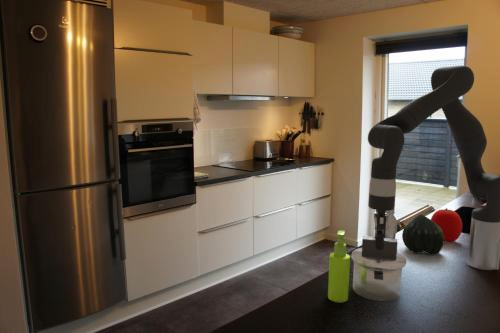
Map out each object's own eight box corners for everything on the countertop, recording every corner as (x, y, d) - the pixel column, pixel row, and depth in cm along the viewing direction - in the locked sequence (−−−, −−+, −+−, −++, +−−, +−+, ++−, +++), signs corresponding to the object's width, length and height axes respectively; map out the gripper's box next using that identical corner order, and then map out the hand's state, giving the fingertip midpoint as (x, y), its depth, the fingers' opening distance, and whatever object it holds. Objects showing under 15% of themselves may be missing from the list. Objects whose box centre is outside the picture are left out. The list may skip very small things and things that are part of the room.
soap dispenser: (349, 293, 125) (352, 229, 122) (346, 303, 119) (350, 236, 116) (329, 290, 127) (332, 227, 124) (326, 300, 121) (329, 234, 118)
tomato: (424, 240, 175) (427, 207, 173) (432, 234, 184) (435, 203, 182) (456, 247, 167) (459, 213, 165) (463, 240, 176) (467, 208, 174)
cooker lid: (403, 253, 132) (405, 233, 131) (408, 272, 117) (410, 250, 116) (352, 247, 136) (353, 228, 135) (350, 266, 121) (351, 244, 120)
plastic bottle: (396, 265, 148) (400, 210, 145) (377, 263, 149) (380, 209, 146) (394, 258, 154) (397, 206, 151) (375, 257, 155) (378, 205, 152)
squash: (439, 249, 149) (444, 212, 156) (396, 243, 157) (403, 208, 164) (442, 264, 159) (447, 230, 166) (402, 258, 167) (408, 225, 174)
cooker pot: (397, 279, 136) (399, 250, 134) (402, 309, 116) (405, 275, 115) (353, 274, 140) (355, 245, 138) (351, 302, 120) (353, 269, 118)
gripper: (397, 198, 115) (393, 254, 118) (394, 188, 129) (390, 238, 131) (369, 196, 117) (366, 251, 120) (368, 187, 131) (366, 236, 133)
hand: (378, 244), depth 126 cm, fingers open, 8 cm apart
